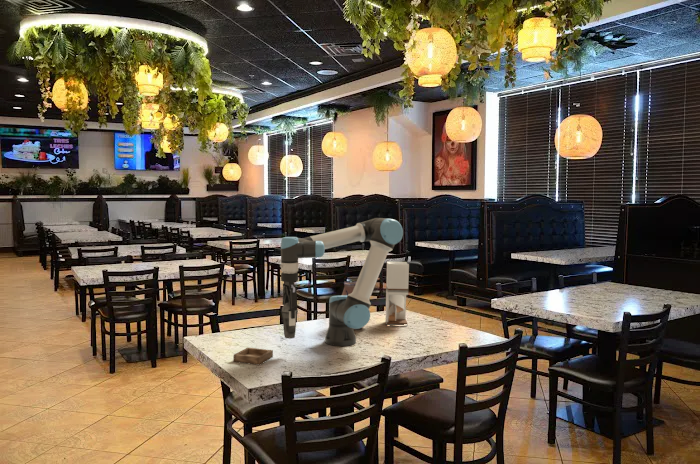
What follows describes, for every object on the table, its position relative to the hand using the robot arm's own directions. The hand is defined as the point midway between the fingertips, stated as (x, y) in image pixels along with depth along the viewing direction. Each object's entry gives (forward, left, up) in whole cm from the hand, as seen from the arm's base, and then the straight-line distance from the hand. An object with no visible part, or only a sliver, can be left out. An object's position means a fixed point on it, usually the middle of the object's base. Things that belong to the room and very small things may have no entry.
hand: (289, 323), depth 239 cm
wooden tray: (+12, +10, -15) cm, 22 cm away
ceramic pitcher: (-12, -62, -15) cm, 65 cm away
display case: (-31, -80, -15) cm, 87 cm away
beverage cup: (0, 0, -6) cm, 6 cm away
